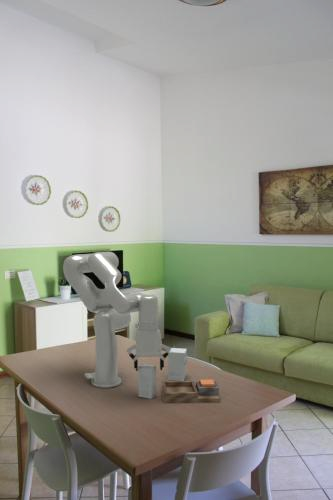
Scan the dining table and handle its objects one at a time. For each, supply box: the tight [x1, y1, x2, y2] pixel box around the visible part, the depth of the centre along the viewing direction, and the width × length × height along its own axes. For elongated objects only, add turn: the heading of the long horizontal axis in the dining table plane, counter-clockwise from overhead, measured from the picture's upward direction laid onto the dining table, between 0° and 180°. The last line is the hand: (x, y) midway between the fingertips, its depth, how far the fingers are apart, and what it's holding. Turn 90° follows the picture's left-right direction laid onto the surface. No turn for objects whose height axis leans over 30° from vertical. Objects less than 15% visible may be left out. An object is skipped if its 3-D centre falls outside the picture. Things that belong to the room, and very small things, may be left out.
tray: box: [160, 380, 221, 404], centre depth 173 cm, size 22×14×4 cm, turn 94°
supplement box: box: [167, 347, 188, 381], centre depth 193 cm, size 7×7×13 cm
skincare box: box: [137, 363, 157, 400], centre depth 172 cm, size 6×4×12 cm
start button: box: [199, 379, 215, 387], centre depth 174 cm, size 5×5×2 cm
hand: (149, 369), depth 171 cm, fingers open, 9 cm apart
